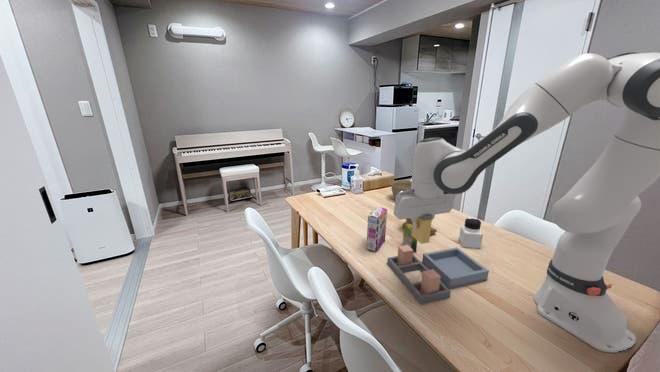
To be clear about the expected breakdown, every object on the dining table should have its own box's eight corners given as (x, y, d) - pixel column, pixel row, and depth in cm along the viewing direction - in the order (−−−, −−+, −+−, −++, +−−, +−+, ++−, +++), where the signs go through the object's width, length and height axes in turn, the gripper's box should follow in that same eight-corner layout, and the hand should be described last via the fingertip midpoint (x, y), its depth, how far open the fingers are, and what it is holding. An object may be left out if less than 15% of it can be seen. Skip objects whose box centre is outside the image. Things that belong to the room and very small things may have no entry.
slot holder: (449, 297, 87) (450, 291, 87) (420, 304, 85) (421, 298, 84) (411, 258, 108) (412, 253, 108) (387, 263, 106) (387, 257, 105)
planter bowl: (400, 193, 179) (401, 178, 175) (421, 200, 167) (423, 184, 163) (384, 199, 169) (385, 183, 166) (406, 207, 157) (407, 190, 154)
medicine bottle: (480, 248, 114) (485, 224, 110) (462, 247, 116) (466, 222, 112) (475, 240, 121) (479, 216, 117) (458, 239, 122) (462, 215, 118)
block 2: (437, 296, 88) (440, 276, 85) (427, 299, 87) (429, 278, 84) (430, 288, 91) (432, 269, 89) (420, 290, 90) (422, 271, 88)
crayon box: (416, 251, 113) (419, 227, 109) (410, 252, 112) (412, 228, 109) (408, 242, 120) (410, 219, 116) (402, 243, 119) (404, 220, 115)
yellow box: (429, 242, 89) (432, 215, 86) (421, 243, 88) (424, 216, 85) (418, 234, 94) (421, 208, 91) (411, 235, 93) (413, 209, 90)
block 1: (411, 268, 102) (413, 250, 100) (402, 269, 101) (403, 251, 99) (405, 262, 106) (407, 244, 103) (397, 263, 105) (398, 246, 103)
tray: (487, 280, 95) (489, 270, 94) (449, 288, 91) (450, 279, 90) (455, 255, 110) (457, 247, 108) (422, 262, 106) (423, 253, 104)
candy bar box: (376, 253, 113) (378, 218, 107) (366, 249, 115) (367, 215, 110) (385, 241, 122) (387, 208, 116) (375, 238, 124) (377, 206, 119)
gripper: (401, 195, 80) (398, 235, 84) (458, 187, 85) (453, 226, 89) (391, 188, 86) (389, 226, 90) (445, 182, 91) (440, 218, 95)
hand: (421, 226), depth 90 cm, fingers closed on yellow box, 3 cm apart
